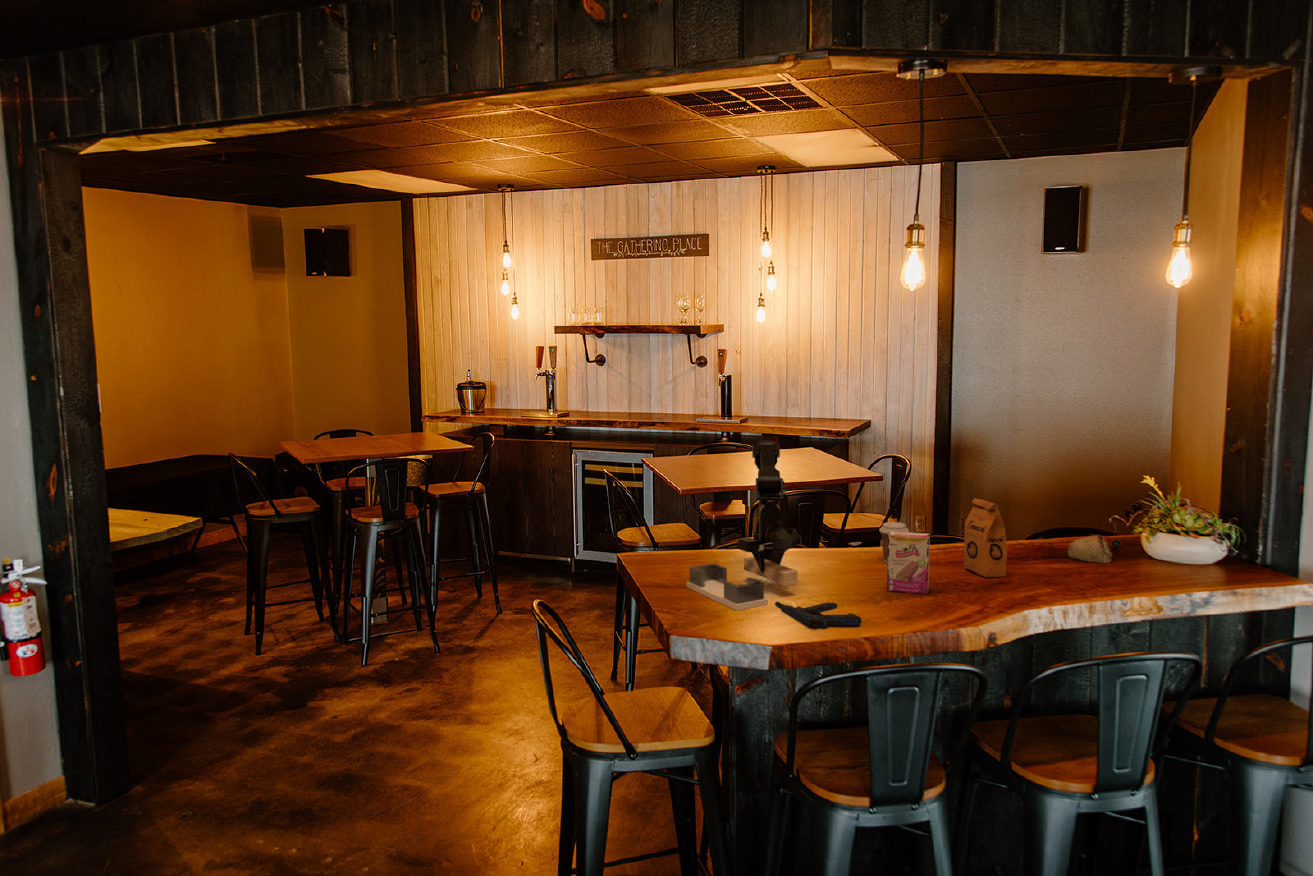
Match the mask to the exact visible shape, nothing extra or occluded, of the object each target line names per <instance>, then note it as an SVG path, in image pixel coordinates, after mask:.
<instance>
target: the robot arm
mask: <svg viewBox="0 0 1313 876" xmlns="http://www.w3.org/2000/svg"><path fill="white" fill-rule="evenodd" d="M751 449H752V452H751V454H752V455H751V456H752V459H754V465H755V466H756V468H757V470H758V471H757V478H755V500H756V501H759V502H758V505H759V506H758V513H759V514H758V519H757V520H756V526H755V528H754V530H755V531H753V533H752V534H753V535H752V537H751V538H750V537H744V538H739V539H738V541H737V542H736V548H737V550H740V551H742V552H745V553H751V554H752V557H753V556H754V558H755V560H756V562H757V564H758V566H759V569H760V571H761V572H762V573H764V569H765V559H766V560H769V561H771V562H774V563H777V564H780V565H781V562H782V560H783V558H784V555H785V553H786V552H787V551H789V550H791V549H792V547H793V546H800V545H801V544H802V537H801V535H800V534H798V531H797V529H796V528H788V529H784V527H783V526H784V525H783V522H782V521H780V520H781V518H782V511H781V508H780V501H784V498H785V497H786V482H785V481H784V478H783V477H781V472H780V470H778V469H777V468H776V466H777V463H778V459H779V458H780V456H781V448H780V443H778V442H776V441H773V440H760V441H758V442H756V443H752V447H751Z"/></svg>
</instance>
